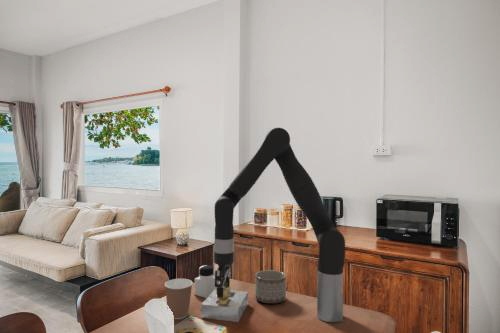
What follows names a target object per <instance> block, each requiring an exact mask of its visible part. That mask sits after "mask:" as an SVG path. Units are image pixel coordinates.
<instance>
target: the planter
mask: <svg viewBox="0 0 500 333" xmlns="http://www.w3.org/2000/svg"><path fill="white" fill-rule="evenodd" d="M254 276H255V280H254V281H255V282H254V283H255V284H254V285H255V288H254V297H255V299H256V301H258V302H261V303H264V304H278V303H281V302H284V301H285V299H286V294H287V293H286V292H287V290H286V289H287V287H286V286H287V285H286V284H287V282H286V281H287V274H285V272H283V271H279V270H274V269H270V270H267V269H266V270H259V271H258V272H256V273H255V275H254Z"/></svg>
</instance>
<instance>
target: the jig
mask: <svg viewBox="0 0 500 333" xmlns="http://www.w3.org/2000/svg"><path fill="white" fill-rule="evenodd" d="M200 305H201V307H200V308H201V311H200V312H201V313H200V314H201V315H200V318H202V319H208V320H209V319H210V320H217V321H227V322H235V323H239V322H240V320H241V318H242V316H243V314H244V313H245V311H246V309H247V308H248V305H249V292H248V291H242V290H235V289H234V290H232V289H231V293H230V298H228V305H227V304H218V298H217V297H216V289H214V290H213V292H212V293H211V294H210V295H209V296H208V297H207V298H205V300H204V301H203V302H202V303H201V304H200Z"/></svg>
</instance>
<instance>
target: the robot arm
mask: <svg viewBox="0 0 500 333" xmlns="http://www.w3.org/2000/svg"><path fill="white" fill-rule="evenodd" d="M274 160H275V162H276V163H277V165H278V166H279V169H280V170H281V173H282V176H283V178H284V180H285V183H286V185H287V188H288V189H289V192H290V193H291V195H292V197H293V199H294V201H295V203H296V205H298V207H299V209H300V210H301V211H302V214H304V216H305V217H306V218H307V220H308V221H309V223H310V225H311V228H312V230H313V232H314V235H315V238H316V241H317V243H318V262H317V283H316V286H317V288H316V291H317V294H316V295H317V296H316V301H317V302H316V317H317V318H318V319H319V320H321V321H323V322H327V323H338V322H341V323H342V322H343V321H344V318H343V316H344V292H343V291H344V267H345V260H346V259H345V258H346V257H345V256H346V240H345V237H344V234H342V232H341V231H340V230H339V229H338V228H337V227H336V226H335V224H334V223H333V221H332V220H331V219H330V216H329V214H328V213H327V211H326V209H325V206H324V203H323V201H322V197H321V195H320V192H319V190H318V187H317V186H316V184H315V183H314V181H313V179H312V177H311V176H310V174H309V173H308V172H307V170H306V169H305V168H304V166H303V165H302V164H301V163H300V161H299V160H298V158H297V157H296V155H295V153H294V151H293V148H292V145H291V137H290V134H289V132H288V131H287V130H286V129H285V128H282V127H273V128H271V129H270V130H268V132H267V133H266V135H265V138H264V140H263V142H262V144H261V145H260V147H259V148H258V150H257V151H256V153H255V154H254V155H253V156H252V158H251V159H250V160H249V161H248V163H246V165H245V166H244V167H243V168H242V169H241V170H240V172H239V173H237V175H236V177H234V179H233V181H231V183H230V184H229V186H228V188H226V189H225V191H223V193H222V194H221V195H220V196H219V198H218V199H217V200H216V202H215V203H214V222H215V223H214V224H215V225H214V243H213V263H214V264H215V265H217V266H218V267H217V269H215V271H214V277H215V287H217V297H218V298H222V297H223V287H224V286H229V287H230V288H231V286H230V282H231V281H230V279H231V277H232V275H233V273H232V271H233V270H232V269H233V266H232V265H233V264H234V262H235V242H234V241H235V240H234V233H235V232H234V210H235V207H236V206H237V205H238V204H239V202H240V201H241V200H242V198H244V197H245V196H246V195H247V194H248V193H249V191H251V189H252V188H253V187H254V185H255V184H256V183H257V181H258V180H259V178H260V177H261V176H262V174H263V173H264V171H265V170H266V169H267V167H268V166H269V165H270V164H271V163H272V162H273V161H274Z"/></svg>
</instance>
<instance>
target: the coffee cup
mask: <svg viewBox="0 0 500 333" xmlns="http://www.w3.org/2000/svg"><path fill="white" fill-rule="evenodd" d="M193 284H194V282H193V281H192V280H191V279H187V278H174V279H170V280H167V281H165V283H164V287H165V297H166V298H165V299H166V306H167V305H168V306H169V308H170V309H171V311H172V312H173V315H174V319H173V320H182V319H185V318H186V317H188V314H189V312H190V311H189V310H190V302H191V295H192V287H193V286H192V285H193Z"/></svg>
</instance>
